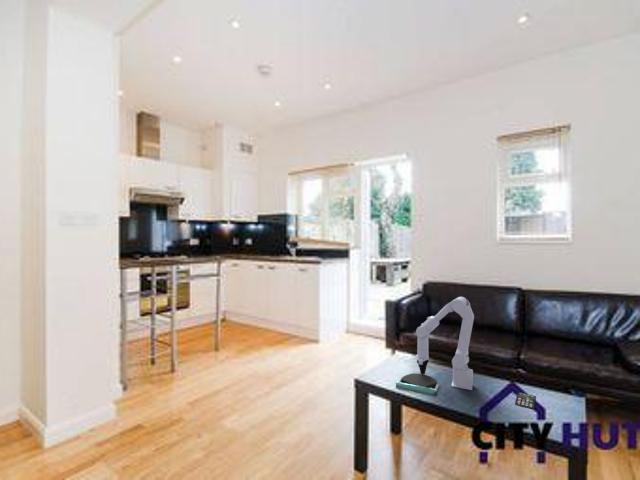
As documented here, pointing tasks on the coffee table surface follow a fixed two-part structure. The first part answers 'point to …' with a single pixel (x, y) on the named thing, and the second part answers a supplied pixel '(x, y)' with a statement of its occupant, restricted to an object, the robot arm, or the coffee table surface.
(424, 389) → the teal tray
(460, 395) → the coffee table surface
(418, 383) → the media streaming box
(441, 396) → the coffee table surface
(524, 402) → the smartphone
